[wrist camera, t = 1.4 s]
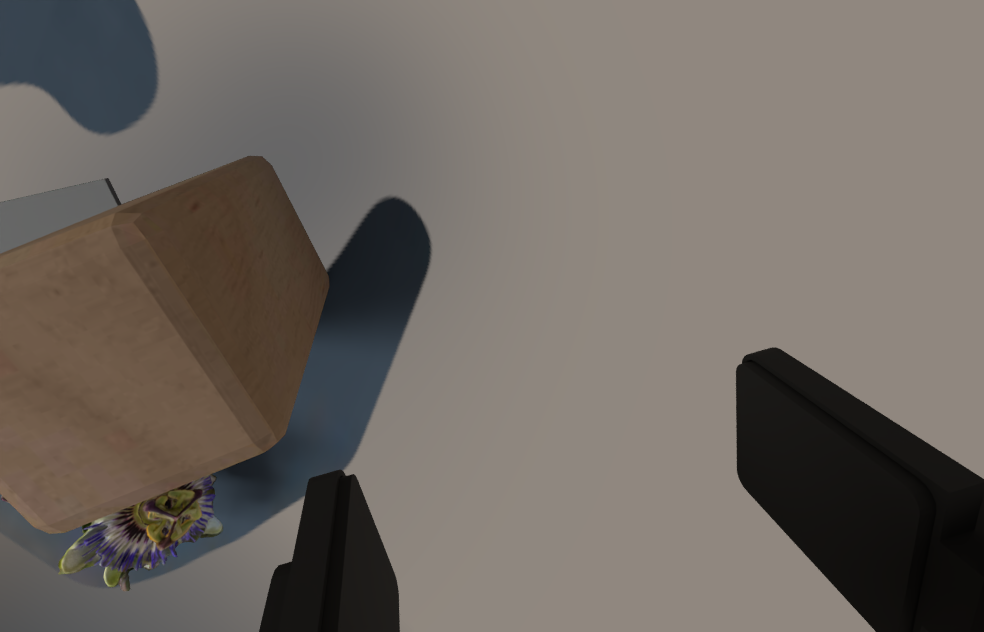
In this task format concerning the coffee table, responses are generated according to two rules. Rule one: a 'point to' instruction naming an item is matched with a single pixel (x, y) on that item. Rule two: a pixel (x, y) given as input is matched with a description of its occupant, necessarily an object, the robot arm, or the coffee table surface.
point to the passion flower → (145, 532)
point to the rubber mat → (52, 211)
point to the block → (153, 344)
